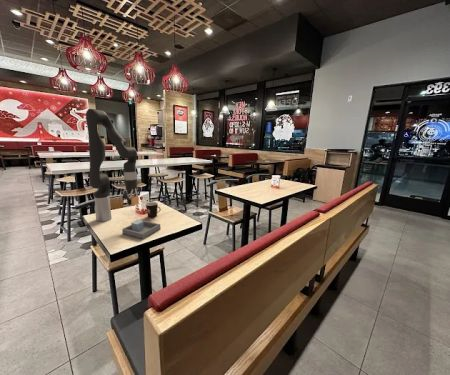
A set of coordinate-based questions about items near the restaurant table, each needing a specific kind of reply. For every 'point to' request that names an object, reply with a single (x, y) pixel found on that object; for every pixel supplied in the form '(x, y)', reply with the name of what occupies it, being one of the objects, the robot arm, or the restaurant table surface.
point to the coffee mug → (152, 209)
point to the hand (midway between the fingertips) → (132, 203)
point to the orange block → (134, 201)
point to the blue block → (137, 225)
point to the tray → (142, 234)
